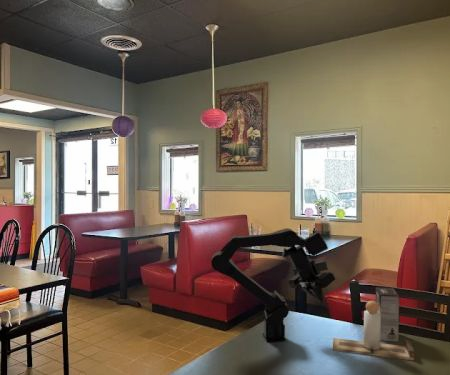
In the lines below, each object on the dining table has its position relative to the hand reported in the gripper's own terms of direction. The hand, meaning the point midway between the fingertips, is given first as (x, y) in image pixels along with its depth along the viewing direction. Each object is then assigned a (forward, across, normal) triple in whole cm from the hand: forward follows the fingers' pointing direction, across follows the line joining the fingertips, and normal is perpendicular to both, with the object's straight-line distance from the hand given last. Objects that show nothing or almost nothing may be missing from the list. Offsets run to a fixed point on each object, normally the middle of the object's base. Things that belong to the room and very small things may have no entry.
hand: (321, 302), depth 134 cm
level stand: (+18, -11, -1) cm, 21 cm away
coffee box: (+22, -6, -14) cm, 27 cm away
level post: (+17, -11, -1) cm, 20 cm away
